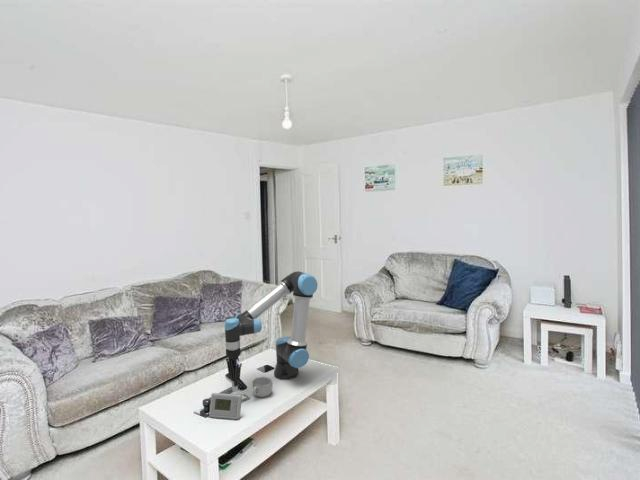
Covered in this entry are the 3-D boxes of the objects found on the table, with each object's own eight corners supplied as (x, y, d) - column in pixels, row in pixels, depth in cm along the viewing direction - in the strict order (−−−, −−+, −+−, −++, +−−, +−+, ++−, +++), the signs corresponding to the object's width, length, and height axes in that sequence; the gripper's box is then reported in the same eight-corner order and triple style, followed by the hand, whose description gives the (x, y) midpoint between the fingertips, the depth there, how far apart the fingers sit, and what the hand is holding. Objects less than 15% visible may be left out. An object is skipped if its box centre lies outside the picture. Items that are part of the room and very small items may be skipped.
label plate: (244, 394, 201) (244, 393, 201) (250, 398, 196) (250, 397, 196) (231, 400, 195) (231, 398, 195) (237, 404, 191) (236, 402, 191)
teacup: (262, 388, 208) (262, 374, 208) (276, 393, 202) (276, 379, 201) (244, 398, 197) (244, 384, 196) (258, 404, 191) (258, 389, 190)
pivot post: (210, 407, 188) (210, 400, 188) (216, 412, 183) (216, 405, 183) (197, 412, 184) (197, 404, 183) (203, 418, 178) (203, 410, 178)
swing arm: (206, 407, 180) (205, 403, 180) (201, 405, 183) (200, 401, 182) (239, 389, 198) (239, 385, 198) (234, 387, 200) (234, 383, 200)
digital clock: (207, 417, 179) (206, 396, 178) (218, 408, 187) (217, 388, 187) (234, 424, 173) (234, 402, 172) (245, 414, 181) (244, 393, 180)
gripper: (220, 347, 196) (222, 389, 197) (232, 353, 186) (234, 397, 188) (233, 343, 201) (235, 385, 202) (245, 349, 191) (247, 393, 193)
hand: (235, 391), depth 195 cm, fingers closed
